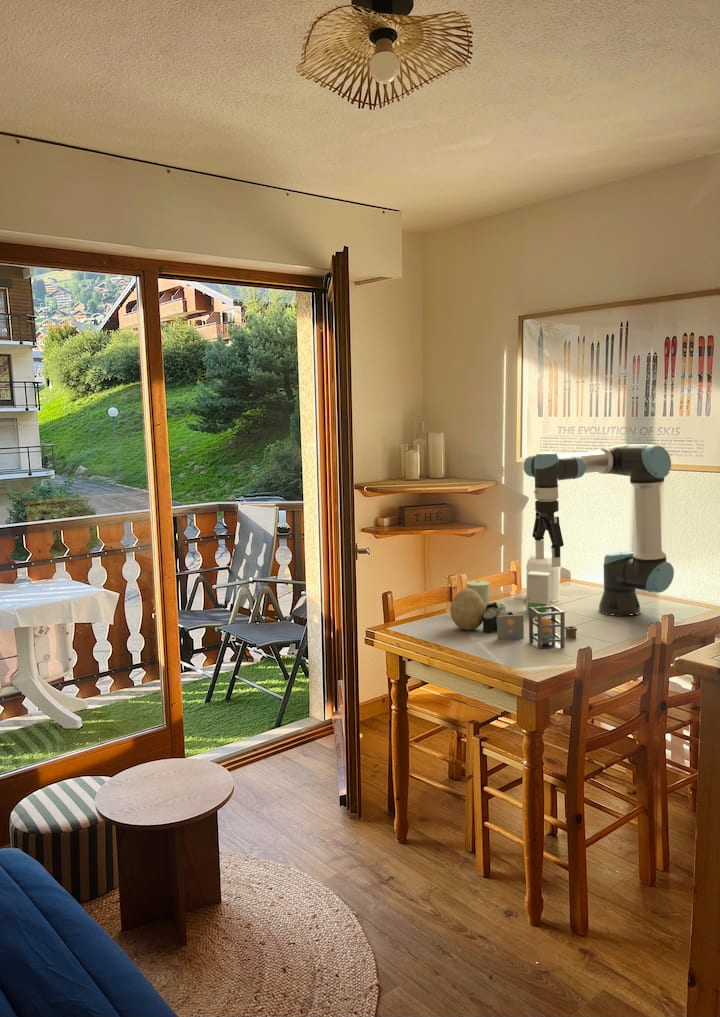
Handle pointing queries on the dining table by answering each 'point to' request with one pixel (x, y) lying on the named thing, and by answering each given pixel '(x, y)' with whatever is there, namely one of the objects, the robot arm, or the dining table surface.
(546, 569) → the container
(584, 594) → the dining table surface
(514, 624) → the sign
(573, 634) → the pedestal
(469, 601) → the fossilized egg
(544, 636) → the gray ball
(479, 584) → the can
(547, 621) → the orange ball
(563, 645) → the open frame box
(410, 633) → the dining table surface
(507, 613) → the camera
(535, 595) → the skincare box
